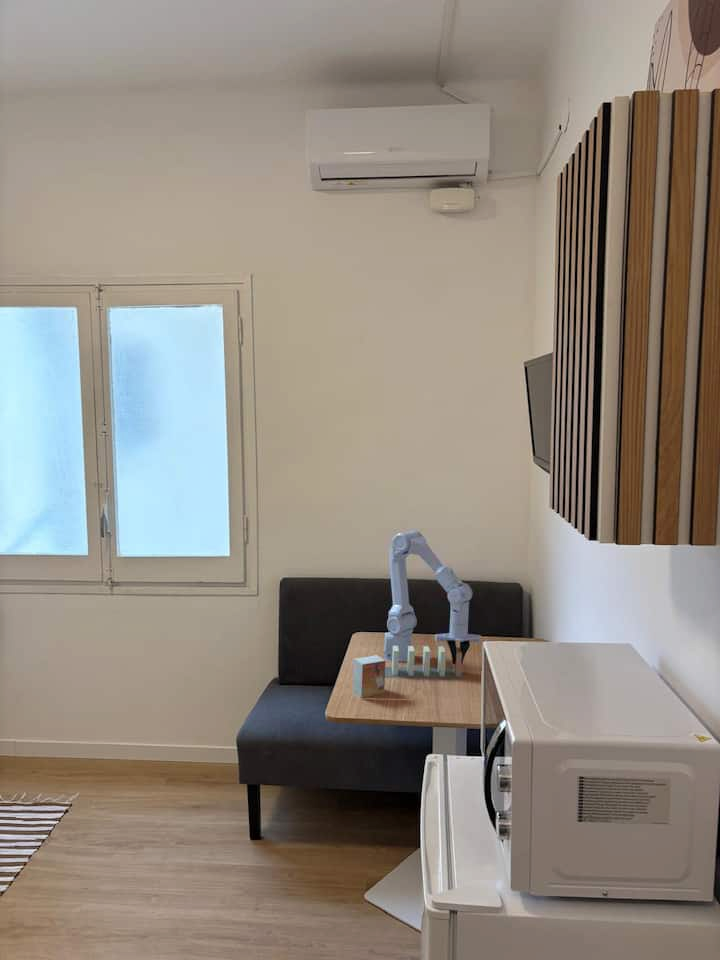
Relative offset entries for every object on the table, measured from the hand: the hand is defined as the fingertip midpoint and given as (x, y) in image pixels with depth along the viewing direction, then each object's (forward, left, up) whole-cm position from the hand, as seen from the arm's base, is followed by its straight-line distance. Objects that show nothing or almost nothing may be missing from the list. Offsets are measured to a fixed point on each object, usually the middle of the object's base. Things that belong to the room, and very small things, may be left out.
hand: (457, 663), depth 220 cm
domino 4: (-5, 0, -3) cm, 6 cm away
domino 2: (-15, 0, -3) cm, 15 cm away
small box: (-29, -16, -4) cm, 33 cm away
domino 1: (-20, 0, -3) cm, 20 cm away
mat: (-12, 0, -4) cm, 12 cm away
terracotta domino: (0, 0, -3) cm, 3 cm away
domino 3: (-10, 0, -3) cm, 11 cm away
